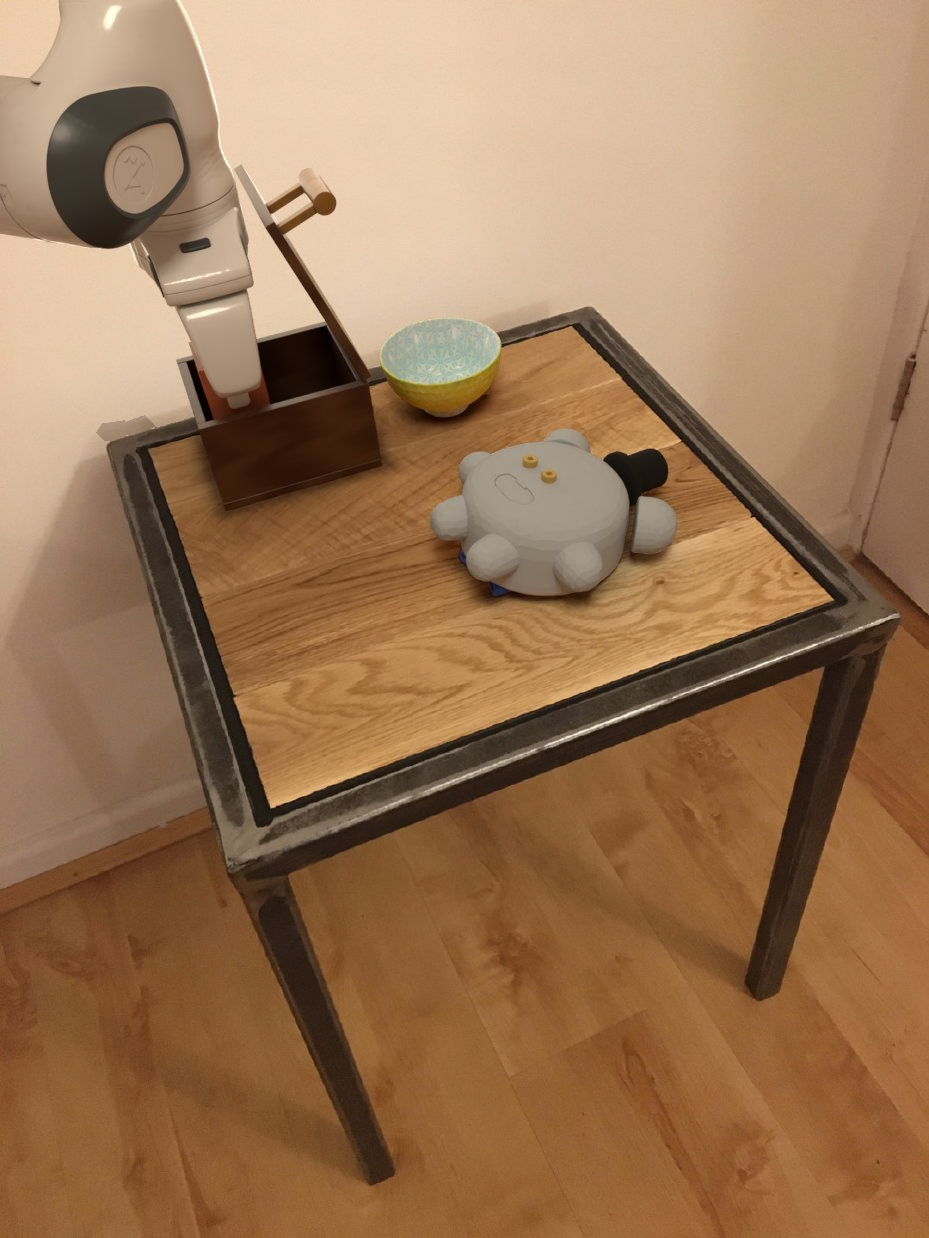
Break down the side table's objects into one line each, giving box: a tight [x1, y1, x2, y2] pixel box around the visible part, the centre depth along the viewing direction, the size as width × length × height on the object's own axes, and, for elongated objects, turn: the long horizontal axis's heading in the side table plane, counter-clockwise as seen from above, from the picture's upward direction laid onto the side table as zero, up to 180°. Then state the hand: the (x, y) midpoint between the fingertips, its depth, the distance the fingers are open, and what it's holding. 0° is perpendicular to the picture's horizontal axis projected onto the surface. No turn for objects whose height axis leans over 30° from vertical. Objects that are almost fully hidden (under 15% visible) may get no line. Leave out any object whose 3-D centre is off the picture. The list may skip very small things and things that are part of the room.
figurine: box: [429, 427, 678, 597], centre depth 76 cm, size 17×8×20 cm
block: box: [188, 341, 271, 420], centre depth 82 cm, size 5×5×5 cm
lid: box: [233, 163, 372, 381], centre depth 78 cm, size 15×12×6 cm
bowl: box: [379, 316, 502, 418], centre depth 91 cm, size 11×12×6 cm
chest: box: [175, 320, 383, 512], centre depth 86 cm, size 15×12×9 cm
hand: (231, 384), depth 83 cm, fingers closed on block, 5 cm apart
